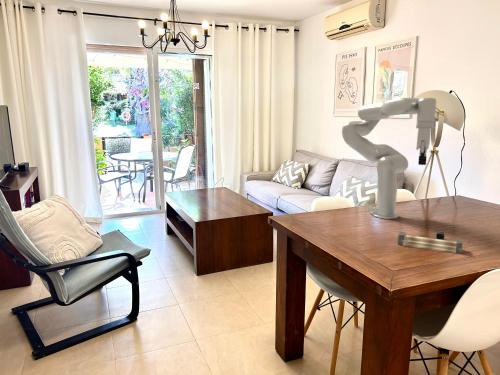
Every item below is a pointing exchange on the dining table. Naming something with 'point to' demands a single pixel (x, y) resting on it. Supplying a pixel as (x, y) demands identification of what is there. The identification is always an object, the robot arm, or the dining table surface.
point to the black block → (440, 235)
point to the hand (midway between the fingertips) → (422, 164)
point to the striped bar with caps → (430, 243)
